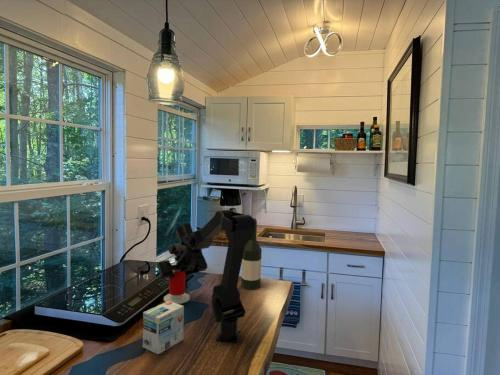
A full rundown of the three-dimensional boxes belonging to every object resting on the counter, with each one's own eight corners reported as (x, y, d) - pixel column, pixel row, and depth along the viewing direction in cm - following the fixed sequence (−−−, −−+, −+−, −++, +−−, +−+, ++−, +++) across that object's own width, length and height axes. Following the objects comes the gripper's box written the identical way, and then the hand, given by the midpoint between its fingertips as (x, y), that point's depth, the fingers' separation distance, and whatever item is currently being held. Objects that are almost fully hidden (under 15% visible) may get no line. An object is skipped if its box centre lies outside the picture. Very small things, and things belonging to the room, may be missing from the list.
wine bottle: (260, 290, 150) (262, 220, 147) (240, 289, 150) (242, 219, 147) (260, 283, 158) (262, 217, 155) (241, 282, 158) (243, 216, 155)
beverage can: (183, 291, 142) (184, 261, 141) (186, 296, 136) (186, 266, 135) (168, 292, 140) (168, 262, 139) (170, 298, 134) (170, 267, 133)
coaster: (184, 305, 132) (184, 303, 132) (159, 302, 134) (159, 301, 134) (193, 295, 142) (193, 293, 142) (169, 292, 144) (169, 291, 144)
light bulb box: (158, 355, 99) (158, 318, 98) (141, 347, 103) (141, 312, 102) (184, 339, 108) (185, 305, 107) (168, 333, 112) (168, 300, 111)
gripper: (204, 234, 139) (190, 255, 148) (159, 240, 127) (147, 262, 137) (214, 259, 133) (199, 279, 143) (168, 267, 122) (155, 289, 131)
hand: (175, 277), depth 138 cm, fingers closed on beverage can, 6 cm apart
